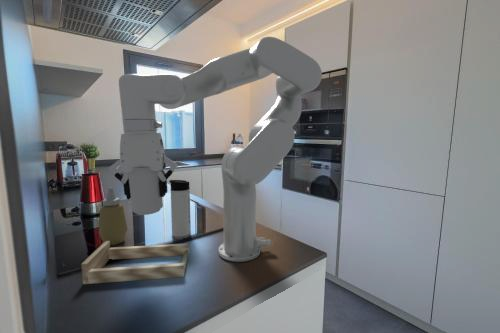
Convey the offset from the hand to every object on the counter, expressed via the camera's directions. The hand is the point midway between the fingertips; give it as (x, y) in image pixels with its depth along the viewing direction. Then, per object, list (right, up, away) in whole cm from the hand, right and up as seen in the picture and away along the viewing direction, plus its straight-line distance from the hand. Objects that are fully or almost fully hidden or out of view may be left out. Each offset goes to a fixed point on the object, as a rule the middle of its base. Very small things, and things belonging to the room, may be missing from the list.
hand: (146, 196), depth 63 cm
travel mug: (+3, -17, +22) cm, 28 cm away
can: (0, -4, +1) cm, 4 cm away
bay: (-2, -19, +2) cm, 19 cm away
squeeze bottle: (-18, -17, +17) cm, 30 cm away
